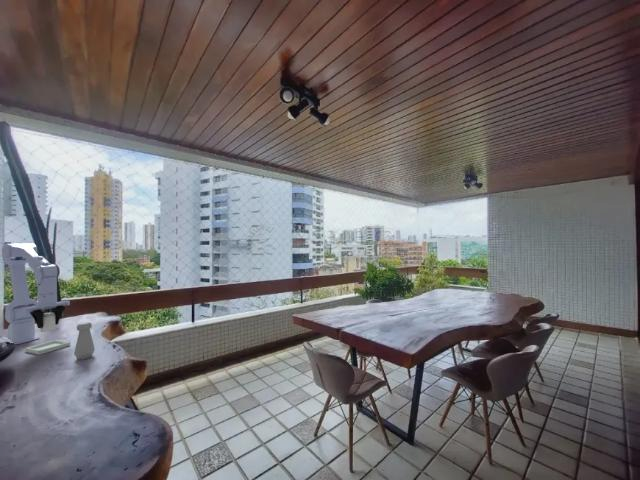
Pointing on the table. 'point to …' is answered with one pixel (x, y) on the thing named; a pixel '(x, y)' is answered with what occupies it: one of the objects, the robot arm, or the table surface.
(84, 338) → the salt shaker
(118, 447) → the table surface
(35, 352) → the tray
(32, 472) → the table surface
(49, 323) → the white shaker
